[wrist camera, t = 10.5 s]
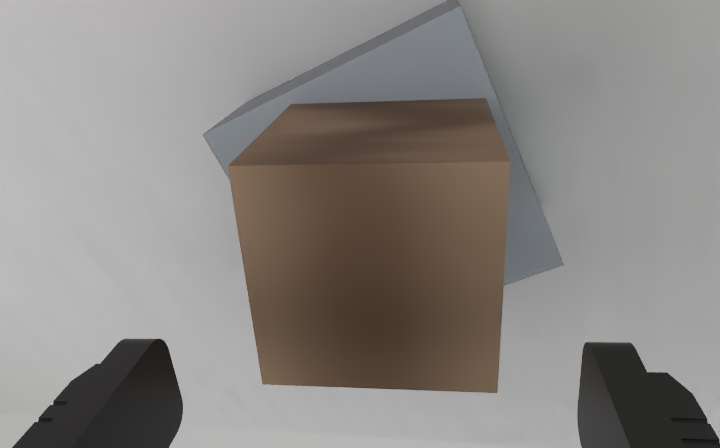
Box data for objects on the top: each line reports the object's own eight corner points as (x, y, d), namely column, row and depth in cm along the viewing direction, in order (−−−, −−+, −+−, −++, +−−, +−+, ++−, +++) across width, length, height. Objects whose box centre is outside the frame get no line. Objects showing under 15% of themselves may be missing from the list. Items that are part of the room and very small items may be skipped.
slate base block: (454, -3, 20) (460, 5, 16) (538, 206, 23) (563, 264, 19) (247, 101, 23) (202, 134, 18) (347, 278, 26) (328, 345, 21)
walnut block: (485, 98, 17) (510, 161, 12) (479, 273, 19) (497, 392, 14) (290, 104, 18) (227, 166, 12) (308, 271, 20) (262, 384, 15)
